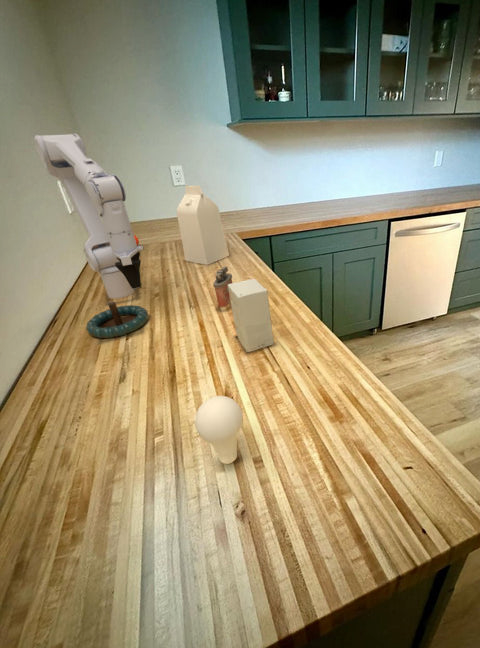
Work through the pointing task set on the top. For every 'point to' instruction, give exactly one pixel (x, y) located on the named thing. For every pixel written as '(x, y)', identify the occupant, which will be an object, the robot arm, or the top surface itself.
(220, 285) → the lighter
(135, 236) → the clementine
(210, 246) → the milk
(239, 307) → the small box
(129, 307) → the ring
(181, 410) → the top surface
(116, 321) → the stand
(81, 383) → the top surface
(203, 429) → the lightbulb
